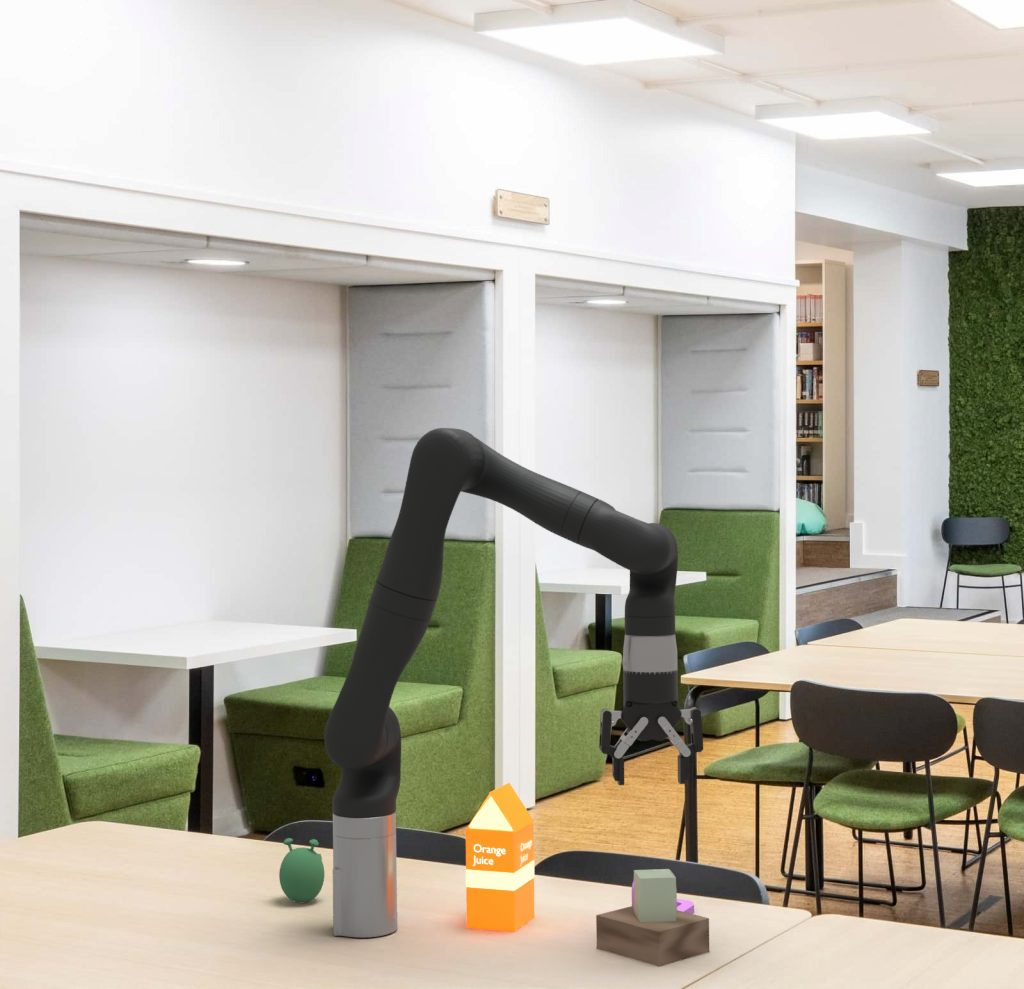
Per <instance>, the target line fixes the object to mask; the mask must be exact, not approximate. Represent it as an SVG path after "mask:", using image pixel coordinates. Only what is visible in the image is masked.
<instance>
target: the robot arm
mask: <svg viewBox="0 0 1024 989" xmlns="http://www.w3.org/2000/svg"><path fill="white" fill-rule="evenodd" d="M409 462H410V463H409V467H408V472H407V476H406V481H405V486H404V492H403V497H402V500H401V506H400V509H399V512H398V516H397V520H396V522H395V526H394V528H393V530H392V533H391V535H390V539H389V541H388V545H387V548H386V549H385V550H386V551H385V553H384V557H383V560H382V563H381V565H380V568H379V572H378V574H377V577H376V580H375V581H374V582H375V583H374V585H373V589H372V592H371V595H370V599H369V602H368V606H367V609H366V612H365V616H364V620H363V624H362V626H361V630H360V633H359V635H358V639H357V642H356V646H355V650H354V653H353V657H352V661H351V664H350V667H349V669H348V672H347V676H346V677H345V680H344V682H343V685H342V687H341V689H340V691H339V694H338V696H337V699H336V701H335V702H334V705H333V707H332V709H331V712H330V714H329V717H328V719H327V721H326V724H325V728H324V738H323V739H324V740H323V741H324V745H325V746H324V747H325V751H326V753H327V755H328V757H329V758H330V760H331V762H332V763H334V764H335V765H336V766H338V767H339V768H341V776H340V780H339V783H338V785H337V788H336V790H335V791H334V793H333V796H332V853H333V854H332V856H333V857H332V858H333V859H332V860H333V862H332V864H333V865H332V921H333V922H332V924H333V925H332V926H333V927H332V930H333V934H332V935H333V936H334V937H335V936H342V937H347V938H348V937H350V938H373V937H374V938H376V937H382V936H386V935H389V934H392V933H394V932H396V930H398V885H397V884H398V882H397V881H398V880H397V876H398V875H397V872H398V871H397V867H398V866H397V797H398V796H399V795H398V794H399V792H400V788H401V770H402V769H401V768H402V732H401V727H400V722H399V719H398V717H397V714H396V713H395V712H394V710H393V709H392V708H391V707H390V704H391V700H392V698H393V694H394V691H395V688H396V686H397V683H398V681H399V679H400V677H401V675H402V673H403V672H404V670H405V668H407V665H408V664H409V662H410V661H411V659H412V657H413V656H414V654H415V652H416V651H417V649H418V647H419V645H420V644H421V642H422V640H423V638H424V636H425V634H426V632H427V630H428V627H429V625H430V622H431V620H432V618H433V617H432V616H433V614H434V613H433V612H434V610H435V608H436V604H437V601H438V597H439V594H440V590H441V585H442V578H443V568H444V547H445V546H444V545H445V536H446V533H447V528H448V525H449V521H450V518H451V516H452V513H453V510H454V508H455V505H456V503H457V501H458V498H459V496H460V494H461V493H466V494H471V495H474V496H477V497H482V498H484V499H489V500H490V501H494V502H495V503H499V504H501V505H503V506H505V507H507V508H509V509H511V510H513V511H515V512H516V513H519V514H520V515H522V516H523V517H525V518H527V519H528V520H530V521H531V522H532V523H534V524H536V525H537V526H539V527H541V528H542V529H545V530H547V531H548V532H551V533H553V535H557V536H559V537H560V538H563V539H566V540H567V541H570V542H572V543H574V544H576V545H579V546H580V547H584V548H587V549H590V550H592V551H594V552H596V553H597V554H599V555H601V556H602V557H604V558H606V559H608V560H609V561H611V562H613V563H614V564H616V565H618V566H620V567H622V568H624V569H626V570H628V571H629V592H628V595H627V596H626V598H625V601H624V602H625V603H624V641H623V648H622V655H623V656H622V662H621V663H622V667H623V668H622V669H623V670H622V672H623V673H622V674H623V675H622V677H623V678H622V680H623V687H622V688H623V704H622V707H621V710H610V709H608V708H603V709H601V711H600V720H599V724H600V725H599V742H598V749H599V751H600V752H601V753H603V755H608V756H610V757H611V760H612V764H611V765H612V771H611V772H612V773H611V774H612V778H613V780H614V781H615V782H617V785H618V786H624V785H625V758H624V755H625V753H626V752H627V750H629V748H630V747H631V746H632V745H633V744H634V743H635V741H636V740H638V741H640V742H648V741H651V740H653V741H658V742H661V741H662V742H663V741H664V740H665V739H668V740H669V741H670V742H671V743H672V745H674V748H676V749H677V751H678V752H679V753H678V755H677V757H676V758H677V783H678V784H679V785H685V784H686V781H688V780H689V779H690V777H691V773H690V772H691V768H690V767H691V765H690V764H691V760H690V758H691V756H692V755H693V754H696V753H701V752H703V750H704V737H703V736H704V735H703V724H702V723H703V721H702V712H701V710H700V709H699V708H697V707H695V706H692V707H690V708H685V709H681V708H680V706H679V692H678V688H679V686H678V684H679V683H678V647H677V646H678V645H677V639H676V607H675V595H676V594H675V593H676V587H677V586H676V585H677V579H678V578H677V576H678V565H679V564H678V563H679V560H678V559H679V548H678V542H677V539H676V537H675V535H674V533H673V532H672V531H671V529H670V528H668V527H667V526H665V525H663V524H661V523H658V522H657V523H656V522H649V523H648V522H645V521H643V520H640V519H637V518H635V517H633V516H630V515H628V514H625V513H623V512H621V511H619V510H617V509H616V508H615V507H614V506H613V505H611V504H610V503H608V502H606V501H604V500H602V499H599V498H597V497H596V496H593V495H591V494H589V493H587V492H584V491H581V490H579V489H577V488H575V487H572V486H570V485H567V484H565V483H562V482H560V481H557V480H555V479H552V478H549V477H547V476H546V475H545V476H544V475H542V474H539V473H538V472H535V471H533V470H531V469H528V468H527V467H525V466H522V465H520V464H518V463H516V462H515V461H513V460H512V459H509V458H508V457H506V456H504V455H503V454H501V453H499V452H498V451H497V450H495V449H493V448H492V447H491V446H489V445H487V444H486V443H484V442H483V441H482V440H480V439H478V438H477V437H475V436H474V435H473V434H472V433H470V432H469V431H466V430H464V429H462V428H461V429H460V428H454V427H438V428H435V429H431V430H430V431H428V432H426V433H425V434H423V436H421V438H419V440H418V441H417V443H416V444H415V446H414V448H413V451H412V454H411V456H410V461H409ZM682 718H683V719H684V721H685V723H686V724H687V725H689V728H690V742H691V743H687V744H686V743H685V742H684V741H683V738H682V737H680V735H679V734H678V732H677V731H676V730H675V727H677V725H678V723H680V721H681V719H682ZM619 719H621V721H622V722H623V724H624V725H625V727H626V728H625V730H624V732H622V734H621V736H620V737H619V739H618V741H617V742H616V744H615V745H611V734H612V727H614V726H616V724H617V721H618V720H619Z"/></svg>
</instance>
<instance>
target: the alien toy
mask: <svg viewBox="0 0 1024 989" xmlns="http://www.w3.org/2000/svg"><path fill="white" fill-rule="evenodd" d="M293 842H294V839H293V838H290V837H288V838H285V839H284V841H283V842H282V843H283V845H284V846H285V845H286V846H288V850H289V851H288V852H287V853H286V854H285V855H284V858H283V859H282V861H281V863H280V867H279V873H278V874H279V875H278V877H279V878H278V879H279V885H280V887H281V889H282V893H284V895H285V896H286V897H287V899H289V900H291V901H292V902H294V901H295V902H294V903H298V902H305V903H308V901H309V902H312V900H315V898H317V897H318V895H319V894H320V893H321V891H322V888H323V885H324V881H325V867H324V862H323V858H322V854H321V853H318V852H316V851H315V850H314V848H315V847H318V846H319V845H320V844H319V841H318V840H317V839H314V838H313V839H310V840H309V844H310V845H311V846H310V848H308V847H296V848H293V847H292V843H293Z"/></svg>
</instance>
